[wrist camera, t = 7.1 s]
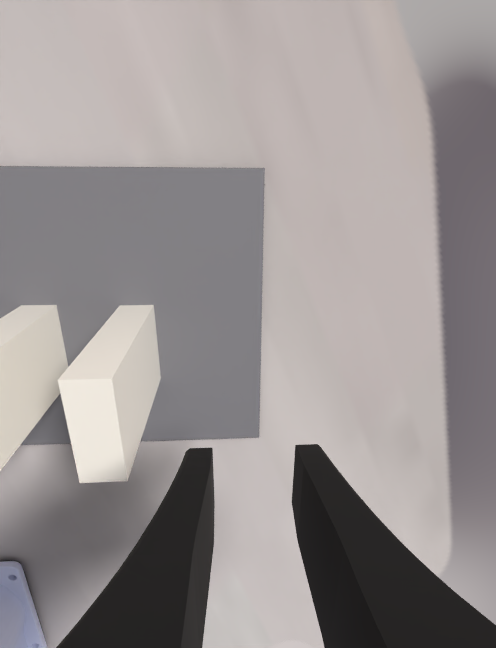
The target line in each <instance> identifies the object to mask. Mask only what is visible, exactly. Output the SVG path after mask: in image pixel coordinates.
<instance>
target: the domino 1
mask: <svg viewBox="0 0 496 648" xmlns="http://www.w3.org/2000/svg"><path fill="white" fill-rule="evenodd" d="M67 368H68V362H67V357H66V352H65V347H64V342H63V336H62V331H61V326H60V321H59V316H58V311H57V305H21V306H19V307H18V308H16V309H15V310H13V311H11V312H10V313H8V314H7V315H5V316H3V317H2V318H0V471H1V470H2V468H3V467H4V466H5V464H6V463H7V462H8V460H9V459H10V458H11V457H12V455H13V454H14V453H15V451H16V450H17V449H18V447H19V446H20V445H21V443H22V442H23V441H24V440H25V438H26V437H27V436H28V434H29V433H30V432H31V430H32V429H33V428H34V427H35V425H36V424H37V423H38V421H39V420H40V419H41V417H42V416H43V415H44V414H45V412H46V411H47V410H48V408H49V407H50V406H51V404H52V403H53V402H54V401H55V399H56V398H57V397H58V395H59V394H60V389H59V384H58V379H59V378H60V377H61V375H62V374H63V373H64V372H65V371H66V369H67Z"/></svg>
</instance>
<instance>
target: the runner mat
mask: <svg viewBox="0 0 496 648" xmlns="http://www.w3.org/2000/svg"><path fill="white" fill-rule="evenodd" d="M264 171H265V168H174V167H40V166H0V318H2V317H3V316H5V315H7V314H8V313H10V312H11V311H13V310H15V309H16V308H18V307H19V306H21V305H57V311H58V316H59V321H60V326H61V331H62V336H63V342H64V347H65V352H66V357H67V362H68V367H69V366H70V365H71V363H72V362H73V361H74V360H75V359H76V357H77V356H78V355H79V354H80V353H81V351H82V350H83V349H84V348H85V347H86V345H87V344H88V343H89V342H90V341H91V339H92V338H93V337H94V336H95V335H96V333H97V332H98V331H99V330H100V329H101V327H102V326H103V325H104V324H105V322H106V321H107V320H108V319H109V318H110V316H111V315H112V314H113V313H114V312H115V310H116V309H117V308H118V307H119V306H120V305H154V313H155V323H156V334H157V344H158V354H159V364H160V375H161V379H160V382H159V386H158V389H157V392H156V395H155V398H154V401H153V404H152V407H151V410H150V413H149V416H148V419H147V423H146V426H145V429H144V432H143V435H142V438H141V441H165V440H197V439H228V438H259V418H260V368H261V319H262V270H263V220H264ZM70 443H71V440H70V436H69V431H68V426H67V422H66V417H65V412H64V408H63V403H62V398H61V394H59V395H58V397H57V398H56V399H55V401H54V402H53V403H52V404H51V406H50V407H49V408H48V410H47V411H46V412H45V414H44V415H43V416H42V417H41V419H40V420H39V421H38V423H37V424H36V425H35V427H34V428H33V429H32V430H31V432H30V433H29V434H28V436H27V437H26V438H25V440H24V441H23V442H22V443H21V445H38V444H70Z"/></svg>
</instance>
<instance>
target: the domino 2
mask: <svg viewBox="0 0 496 648" xmlns="http://www.w3.org/2000/svg"><path fill="white" fill-rule="evenodd" d="M160 379H161V375H160V364H159V354H158V344H157V334H156V323H155V313H154V305H120V306H119V307H118V308H117V309H116V310H115V312H114V313H113V314H112V315H111V316H110V318H109V319H108V320H107V321H106V322H105V324H104V325H103V326H102V327H101V329H100V330H99V331H98V332H97V333H96V335H95V336H94V337H93V338H92V339H91V341H90V342H89V343H88V344H87V345H86V347H85V348H84V349H83V350H82V351H81V353H80V354H79V355H78V356H77V357H76V359H75V360H74V361H73V362H72V363H71V365H70V366H69V367H68V368H67V369H66V371H65V372H64V373H63V374H62V375H61V377H60V378H59V379H58V384H59V389H60V394H61V398H62V403H63V408H64V412H65V417H66V422H67V426H68V431H69V436H70V440H71V445H72V450H73V454H74V459H75V464H76V468H77V473H78V478H79V482H80V483H94V482H119V481H128V478H129V475H130V472H131V469H132V466H133V463H134V460H135V456H136V453H137V450H138V447H139V444H140V441H141V438H142V435H143V432H144V429H145V426H146V423H147V419H148V416H149V413H150V410H151V407H152V404H153V401H154V398H155V395H156V392H157V389H158V386H159V382H160Z"/></svg>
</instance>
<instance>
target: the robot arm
mask: <svg viewBox="0 0 496 648" xmlns="http://www.w3.org/2000/svg"><path fill="white" fill-rule="evenodd" d="M292 506H293V513H294V520H295V526H296V533H297V539H298V544H299V548H300V552H301V556H302V560H303V563H304V567H305V571H306V575H307V579H308V583H309V587H310V591H311V595H312V599H313V602H314V606H315V610H316V614H317V618H318V622H319V626H320V630H321V633H322V638H323V642H324V647H325V648H496V625H495V624H493V623H492V622H491V621H490V620H488V619H487V618H486V617H485V616H483V615H482V614H481V613H480V612H479V611H477V610H476V609H475V608H474V607H472V606H471V605H470V604H469V603H467V602H466V601H465V600H464V599H463V598H461V597H460V596H459V595H458V594H456V593H455V592H454V591H453V590H452V589H451V588H450V587H448V586H447V585H446V584H445V583H444V582H443V581H442V580H441V579H439V578H438V577H437V576H436V575H435V574H434V573H433V572H432V571H431V570H429V569H428V568H427V567H426V566H425V565H424V564H423V563H422V562H421V561H420V560H419V559H418V558H417V557H416V556H415V555H414V554H413V553H411V552H410V551H409V550H408V549H407V548H406V547H405V546H404V545H403V544H402V543H401V542H400V541H399V540H398V539H397V537H396V536H395V535H394V534H393V533H392V532H391V531H390V530H389V529H388V528H387V527H386V526H385V525H384V524H383V523H382V522H381V521H380V519H379V518H378V517H377V516H376V515H375V514H374V513H373V512H372V511H371V509H370V508H369V507H368V506H367V505H366V504H365V502H364V501H363V500H362V499H361V498H360V497H359V495H358V494H357V493H356V492H355V491H354V490H353V488H352V487H351V486H350V485H349V483H348V482H347V481H346V480H345V478H344V477H343V476H342V475H341V473H340V472H339V471H338V470H337V468H336V467H335V466H334V464H333V463H332V462H331V460H330V459H329V458H328V456H327V455H326V454H325V452H324V451H323V450H322V448H321V447H320V446H319V445H318V444H313V445H296V447H295V462H294V478H293V493H292ZM213 545H214V480H213V453H212V448H190V449H189V450H188V451H186V453H185V456H184V458H183V461H182V463H181V466H180V468H179V470H178V472H177V474H176V476H175V478H174V480H173V482H172V484H171V486H170V488H169V490H168V492H167V494H166V496H165V497H164V499H163V501H162V503H161V505H160V506H159V508H158V510H157V512H156V513H155V515H154V517H153V519H152V520H151V522H150V523H149V525H148V526H147V528H146V530H145V531H144V533H143V534H142V536H141V538H140V539H139V541H138V542H137V544H136V545H135V547H134V548H133V550H132V551H131V553H130V554H129V556H128V557H127V559H126V560H125V562H124V563H123V564H122V566H121V567H120V569H119V570H118V571H117V573H116V574H115V575H114V577H113V578H112V579H111V581H110V582H109V584H108V585H107V586H106V588H105V589H104V590H103V591H102V593H101V594H100V595H99V597H98V598H97V599H96V600H95V602H94V603H93V604H92V605H91V607H90V608H89V609H88V610H87V612H86V613H85V614H84V615H83V617H82V618H81V619H80V620H79V622H78V623H77V624H76V625H75V626H74V628H73V629H72V630H71V631H70V632H69V634H68V635H67V636H66V637H65V638H64V639H63V641H62V642H61V643H60V644H59V645H58V646H57V647H56V648H202V643H203V634H204V625H205V617H206V608H207V599H208V590H209V581H210V572H211V563H212V554H213ZM0 648H47V645H46V641H45V638H44V635H43V632H42V629H41V626H40V622H39V619H38V616H37V613H36V610H35V606H34V603H33V600H32V597H31V594H30V591H29V587H28V584H27V581H26V578H25V575H24V572H23V568H22V566H21V564H20V563H18V562H16V561H5V562H0Z"/></svg>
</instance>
